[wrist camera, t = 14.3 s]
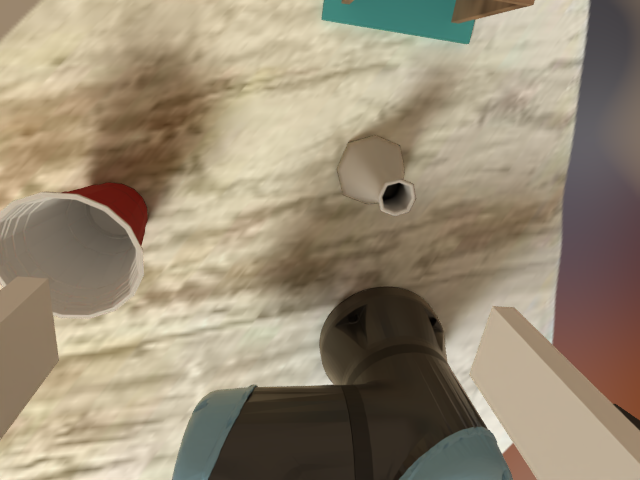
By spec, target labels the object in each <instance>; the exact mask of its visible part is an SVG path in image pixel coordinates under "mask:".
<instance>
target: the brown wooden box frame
mask: <svg viewBox="0 0 640 480" xmlns="http://www.w3.org/2000/svg"><path fill="white" fill-rule="evenodd" d="M353 1H354V0H342V2H341V3H343V4H350V3H352V2H353ZM534 1H535V0H456V3H455V7H454V12H453V16H452V20H451V22H452V23H458V24H459V23H463V22H467V21H471V20H475V19H479V18H483V17H487V16H491V15H495V14H499V13H503V12H507V11H511V10H515V9H519V8H523V7H527V6H531V5H533V4H534Z"/></svg>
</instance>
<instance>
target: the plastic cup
mask: <svg viewBox="0 0 640 480" xmlns="http://www.w3.org/2000/svg"><path fill="white" fill-rule="evenodd" d="M146 223H147V207H146V204H145V202H144V200H143V198H142V197H141V196H140V195H139V194H138V193H137V192H136V191H135V190H134V189H132V188H130V187H128V186H126V185H124V184H118V183H104V184H100V185H92V186H88V187H84V188H81V189H77V190H73V191H69V192H61V193H58V192H41V193H38V194H34V195H31V196H27V197H24V198H21V199H17V200H14V201H12V202H11V203H9V204H8V205H7V206H6V207H5V208H4V209H3V210H2V211H1V212H0V284H1V285H2V287H3V288H4V287H5V286H6V285H7V284H9V283H10V282H11V281H12V280H14V279H15V278H16V277H17V276H18V277H34V278H48V280H49V288H50V296H51V303H52V311H53V316H56V317H59V318H93V317H96V316H99V315H103V314H106V313H109V312H112V311H115V310H117V309H118V308H119V307H120V306H122V305H123V304H124V303H125V302H127V301H128V300H129V299H130V298H132V297H133V296H134V295H135V293H136V291H137V288H138V286H139V284H140V282H141V280H142V278H143V276H144V266H143V250H142V247H141V245H142V241H143V237H144V233H145V226H146Z"/></svg>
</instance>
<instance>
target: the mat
mask: <svg viewBox="0 0 640 480" xmlns="http://www.w3.org/2000/svg"><path fill="white" fill-rule="evenodd" d="M341 2H342V0H324V3H323V12H322V20H326V21H331V22H337V23H343V24H349V25H355V26H361V27H367V28H373V29H379V30H385V31H391V32H397V33H403V34H409V35H415V36H421V37H427V38H433V39H439V40H445V41H451V42H457V43H463V44H469V42H470V38H471V34H472V30H473V26H474V22H475V20H471V21H467V22H463V23H459V24H458V23H452V22H451V20H452V16H453V12H454V7H455V3H456V0H354V1H353V2H352V3H350V4H343V3H341Z"/></svg>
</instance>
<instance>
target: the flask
mask: <svg viewBox="0 0 640 480" xmlns="http://www.w3.org/2000/svg"><path fill="white" fill-rule="evenodd" d="M337 172H338V176H339V180H340V184H341V189H342V193H343V195H345V196H347V197H350V198H353V199H355V200H358V201H361V202H363V203H366V204H372V203H379V205H380V210H381V211H382V212H385V213H387V214H390V215H393V216H397V215H401V214H404V213H408V212H409V211H410V209H411V207H412V206H413V204H414V202H415V200H416V195H415V189H414V184H413V183H411V182H408V181H406V180H403V179H404V174H405V171H404V165H403V159H402V153H401V148H400V145H397V144H395V143H393V142H390V141H388V140H386V139H383V138H381V137H378V136H376V135H374V136H371V137H367V138H364V139H360V140H356V141H353V142H349V143H348V144H347V146H346V149H345V151H344V153H343V156H342V158H341V160H340V163H339V165H338V167H337Z"/></svg>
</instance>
